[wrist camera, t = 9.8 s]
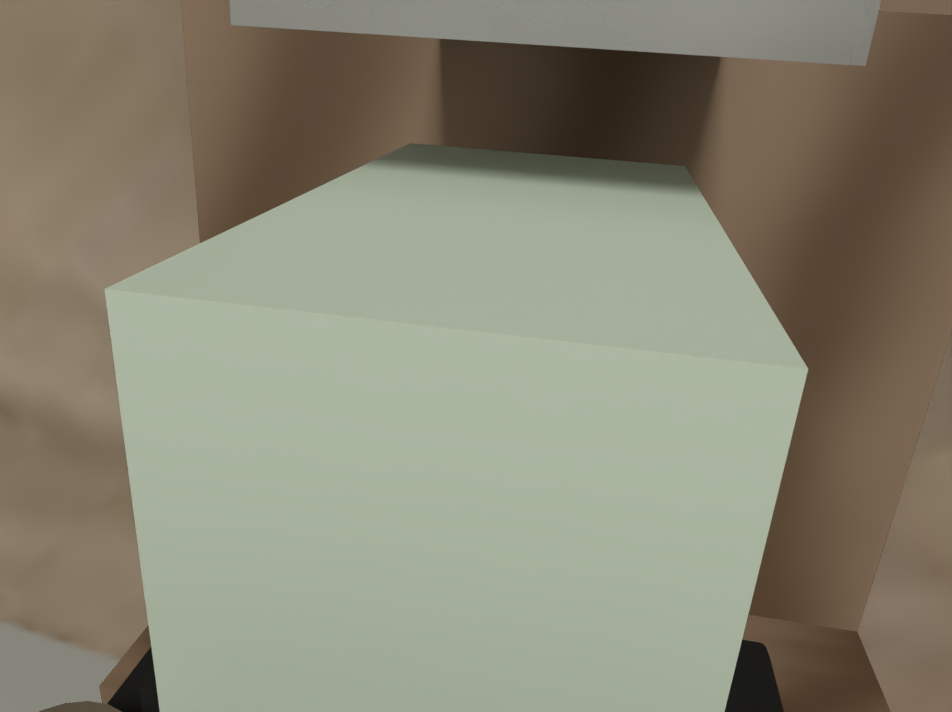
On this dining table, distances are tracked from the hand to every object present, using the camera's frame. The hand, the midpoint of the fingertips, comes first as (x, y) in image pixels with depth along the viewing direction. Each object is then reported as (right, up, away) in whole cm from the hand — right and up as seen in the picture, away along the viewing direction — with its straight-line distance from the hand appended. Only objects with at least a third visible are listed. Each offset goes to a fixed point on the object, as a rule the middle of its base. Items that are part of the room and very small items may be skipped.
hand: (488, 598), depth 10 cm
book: (0, +1, +3) cm, 3 cm away
